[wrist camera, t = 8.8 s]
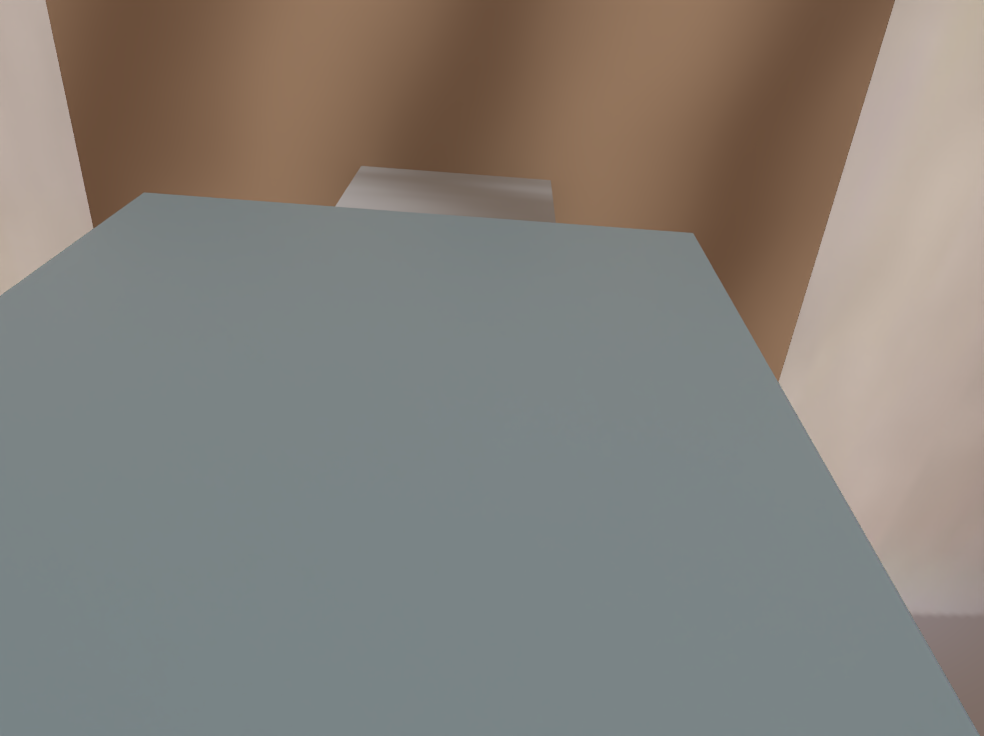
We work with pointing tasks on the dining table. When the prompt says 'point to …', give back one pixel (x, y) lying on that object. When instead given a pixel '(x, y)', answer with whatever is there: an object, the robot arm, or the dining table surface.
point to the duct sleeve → (421, 492)
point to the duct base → (491, 115)
